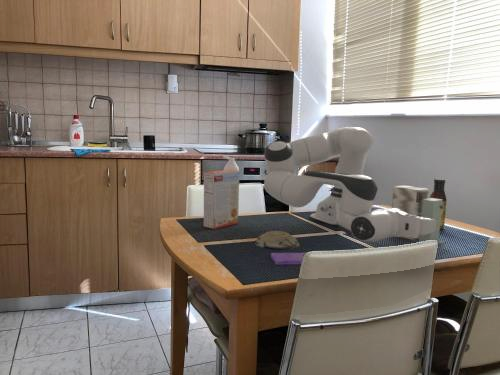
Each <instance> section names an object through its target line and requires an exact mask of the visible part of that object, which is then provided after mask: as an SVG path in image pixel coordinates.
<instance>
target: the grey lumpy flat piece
mask: <svg viewBox="0 0 500 375" xmlns="http://www.w3.org/2000/svg"><path fill="white" fill-rule="evenodd" d="M254 242H255V244H254V245H256V246H258V247H260V248H263V249H264V248H269V249H276V250H285V251H286V250H294V249H297V248H298V247H300V243H299V241H298V239H297V238H296V237H294V236H293V235H291V234H290V233H289V232H286V231H280V230H270V231H266V232H264V233H263V234H261V235H259V236H257V238H256V239H255V240H254Z"/></svg>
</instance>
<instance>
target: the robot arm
mask: <svg viewBox="0 0 500 375" xmlns="http://www.w3.org/2000/svg"><path fill="white" fill-rule="evenodd" d="M373 142H374V140H373V135H371V133H370V132H369V131H367V129H365V128H362V127H355V126H344V127H340V128H337V129H332V130H330V131H327V132H322V133H320V134H319V133H318V134H315V135H311V136H307V137H303V138H299V139H298V138H297V139H295V140H293V141H290V142H286V141H283V140H276V141H272V142H270V143H268V145H266V147H265V149H264V158H265V163H264V164H265V170H266V176H265V178H264V182H263V187H264V191H265V192H266V193H268V194H269V195H270V196H271V197H272V198H274V199H276V200H277V201H279V202H281V203H282V204H284V205H287V206H289V207H293V208H298V209H299V208H303V207H305V206H307V205H309V204H310V203H311V202H312V201H313V200H314V199H315V198H316V195H317V194H318V192H319V191H320V189H321V188H322V187H323V186H324V185H328V186H333V187H331V188H330V187H329V188H328V192H330V193H329V194H330V195H328V196H327V197H326V198H324V199H323V200H321V201H320V202H318V203H317V206H316V212H315V213H311V214H310V218H312V219H314V220H318V221H321V222H324V223H326V224H329V225H337V226H338V227H339V228H340V230H341V231H342V232H343V233H345V234H346V235H348V236H351V237H354V238H355V239H357V240H359V241H362V242H377V241H381V240H385V239H390V238H404V237H409V238H418V237H419V235H426V234H429V233H432V232H434V231H435V229H436V220H434V219H430V218H425V217H420V216H415V215H411V214H408V213H406V212H403V211H401V210H399V209H397V208H392V207H391V208H377V209H373V210H372V208H373V203H374V201H375V199H376V195H377V193H378V186H377V184H376V181H375V180H374V178H372V177H370V176H367V175H365V174H364V168H365V165H366V161H367V158H368V154H369V152H370V150H371V149H372V146H373V144H374V143H373ZM337 157H339V158H338V162H337V165H336V167H335V168H334V169H335V172H334V171H333V172H332V171H325V170H306V171H305V172H304V173H303V174H301V175H298V174H297V170H296V168H301V167H307V166H310V165H316V164H318V163H322V162H323V163H324V162H326V161H330V160H332V159H334V158H337Z"/></svg>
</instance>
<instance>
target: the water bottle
mask: <svg viewBox="0 0 500 375" xmlns="http://www.w3.org/2000/svg"><path fill="white" fill-rule="evenodd" d="M222 159H225V160H228V161H227V163H225V166H224V167H223V170H235V171H239V172H240V167H239V166H238V164H237V162H236V160H235V157H230V156H228V155H223V156H222Z"/></svg>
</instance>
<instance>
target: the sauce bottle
mask: <svg viewBox="0 0 500 375" xmlns="http://www.w3.org/2000/svg"><path fill="white" fill-rule="evenodd" d="M433 183H434V186H433V192H431V194H430V196H429V198H435V199H442V200H443V203H442V206H444V208H443V209H442V213H441V222H440V230H444V229H445V223H446V212H447V200H448V199H447V195H446V192H445V185H446V179H445V178H444V179H443V178H434V180H433Z"/></svg>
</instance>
